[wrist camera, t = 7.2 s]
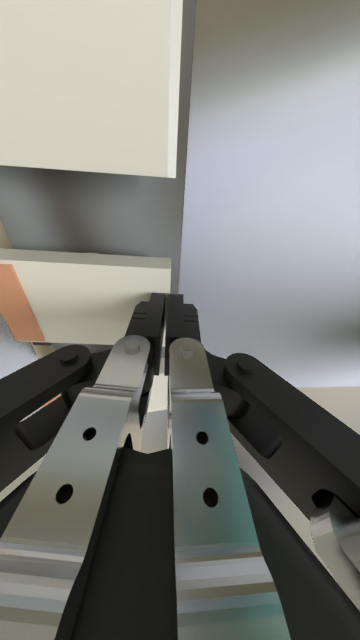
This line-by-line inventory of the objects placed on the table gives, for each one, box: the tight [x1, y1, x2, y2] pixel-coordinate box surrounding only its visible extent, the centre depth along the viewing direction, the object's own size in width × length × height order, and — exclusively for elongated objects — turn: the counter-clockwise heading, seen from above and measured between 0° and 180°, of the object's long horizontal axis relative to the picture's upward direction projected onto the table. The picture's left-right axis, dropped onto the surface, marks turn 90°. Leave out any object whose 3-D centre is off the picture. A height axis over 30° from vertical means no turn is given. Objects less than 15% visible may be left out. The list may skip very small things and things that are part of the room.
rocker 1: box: [0, 0, 183, 178], centre depth 7 cm, size 9×5×3 cm, turn 86°
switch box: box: [0, 0, 196, 391], centre depth 15 cm, size 16×26×6 cm, turn 176°
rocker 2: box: [0, 248, 171, 347], centre depth 12 cm, size 9×5×3 cm, turn 87°
